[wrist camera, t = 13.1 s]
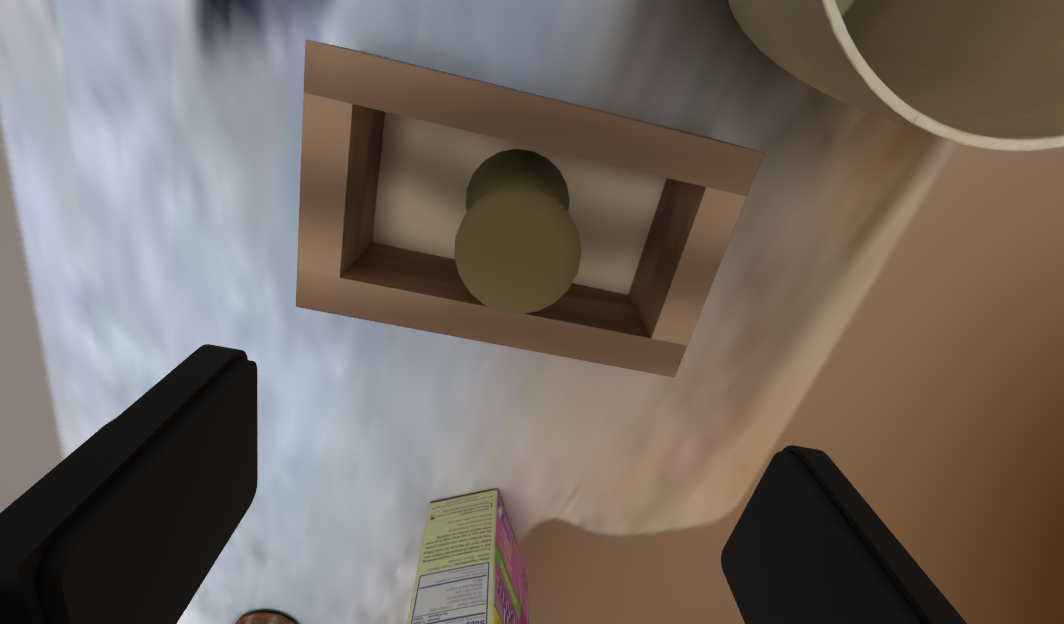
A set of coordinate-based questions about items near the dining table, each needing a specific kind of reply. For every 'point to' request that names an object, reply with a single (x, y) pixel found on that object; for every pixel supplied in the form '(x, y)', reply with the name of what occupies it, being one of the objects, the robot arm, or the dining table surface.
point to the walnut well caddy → (440, 205)
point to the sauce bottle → (264, 619)
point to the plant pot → (927, 62)
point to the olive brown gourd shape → (517, 234)
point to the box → (469, 565)
